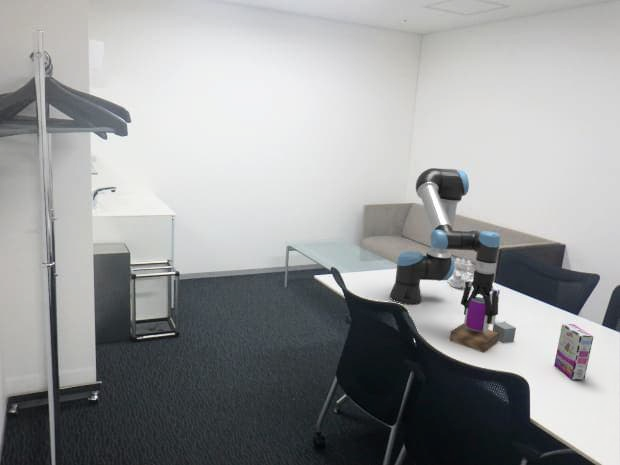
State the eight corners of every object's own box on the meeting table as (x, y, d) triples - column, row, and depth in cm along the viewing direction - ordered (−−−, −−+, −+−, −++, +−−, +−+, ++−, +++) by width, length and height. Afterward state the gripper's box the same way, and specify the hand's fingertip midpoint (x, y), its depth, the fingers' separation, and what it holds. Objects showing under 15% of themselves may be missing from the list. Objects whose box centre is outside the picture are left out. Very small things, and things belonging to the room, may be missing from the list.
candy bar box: (585, 380, 169) (594, 336, 165) (571, 380, 168) (580, 336, 165) (566, 365, 179) (574, 323, 176) (553, 365, 179) (561, 323, 176)
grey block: (491, 337, 201) (493, 323, 199) (502, 335, 203) (504, 322, 202) (502, 343, 195) (504, 329, 194) (513, 341, 198) (516, 327, 197)
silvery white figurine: (444, 279, 278) (448, 249, 274) (461, 280, 279) (466, 250, 275) (455, 291, 258) (460, 258, 255) (474, 292, 259) (479, 259, 255)
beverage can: (486, 327, 196) (491, 299, 193) (484, 333, 189) (489, 304, 186) (467, 323, 199) (471, 295, 196) (464, 329, 192) (468, 300, 189)
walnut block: (449, 340, 194) (451, 330, 193) (464, 331, 204) (465, 322, 204) (484, 352, 185) (485, 342, 184) (497, 342, 196) (499, 332, 195)
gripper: (456, 265, 194) (448, 319, 199) (503, 280, 179) (494, 338, 183) (466, 263, 199) (459, 316, 204) (514, 277, 184) (505, 334, 188)
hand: (476, 326), depth 194 cm, fingers closed on beverage can, 8 cm apart
